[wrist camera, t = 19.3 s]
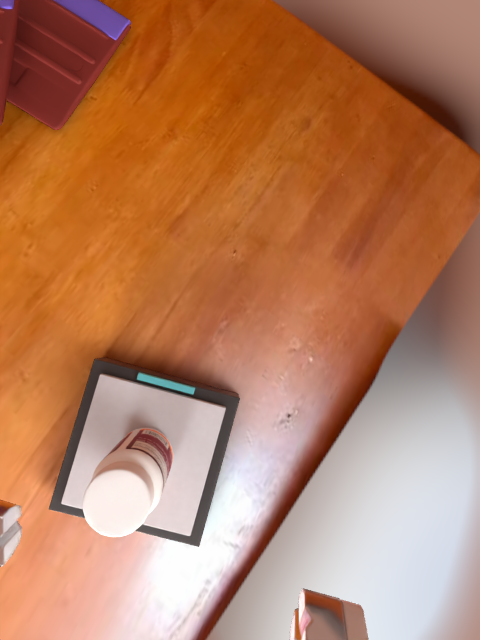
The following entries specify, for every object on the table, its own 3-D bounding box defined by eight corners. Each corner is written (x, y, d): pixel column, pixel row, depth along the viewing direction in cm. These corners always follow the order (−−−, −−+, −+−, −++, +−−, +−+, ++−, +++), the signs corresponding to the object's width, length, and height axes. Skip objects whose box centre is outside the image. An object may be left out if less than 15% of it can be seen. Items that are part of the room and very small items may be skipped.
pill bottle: (125, 491, 29) (86, 555, 20) (110, 436, 29) (65, 476, 20) (181, 474, 29) (165, 530, 21) (166, 419, 29) (144, 452, 21)
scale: (238, 393, 33) (240, 399, 30) (200, 531, 32) (198, 551, 29) (103, 356, 32) (91, 359, 29) (61, 496, 31) (44, 513, 28)
